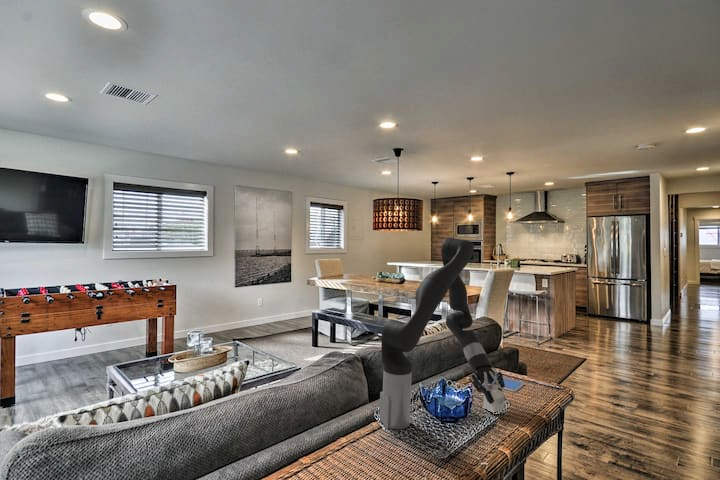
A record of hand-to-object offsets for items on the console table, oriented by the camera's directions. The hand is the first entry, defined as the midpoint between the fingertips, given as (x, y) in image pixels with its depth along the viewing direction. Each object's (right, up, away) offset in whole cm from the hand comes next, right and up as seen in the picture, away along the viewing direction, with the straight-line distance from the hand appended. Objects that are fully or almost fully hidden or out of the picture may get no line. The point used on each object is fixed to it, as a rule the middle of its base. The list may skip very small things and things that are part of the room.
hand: (497, 401), depth 134 cm
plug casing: (-1, -4, +2) cm, 5 cm away
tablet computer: (+11, -6, +31) cm, 34 cm away
